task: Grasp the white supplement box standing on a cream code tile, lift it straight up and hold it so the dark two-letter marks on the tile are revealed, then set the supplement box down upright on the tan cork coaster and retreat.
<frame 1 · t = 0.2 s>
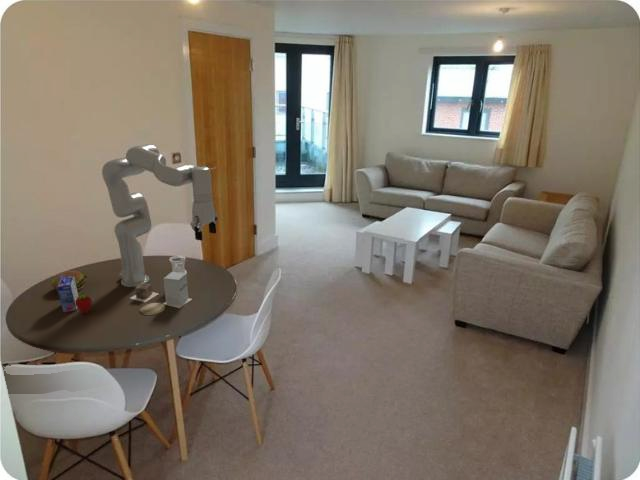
hand: (206, 236, 185), 30 cm above the table, fingers open, 9 cm apart
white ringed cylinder: (180, 285, 209), on the table
food: (70, 289, 204), on the table
walnut block: (144, 295, 198), resting on code tile b
code tile a: (177, 301, 194), on the table
ink cartridge box: (71, 306, 188), on the table
code tile b: (144, 296, 198), on the table
strawberry: (85, 314, 183), on the table
supplement box: (177, 301, 194), resting on code tile a
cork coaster: (152, 309, 187), on the table
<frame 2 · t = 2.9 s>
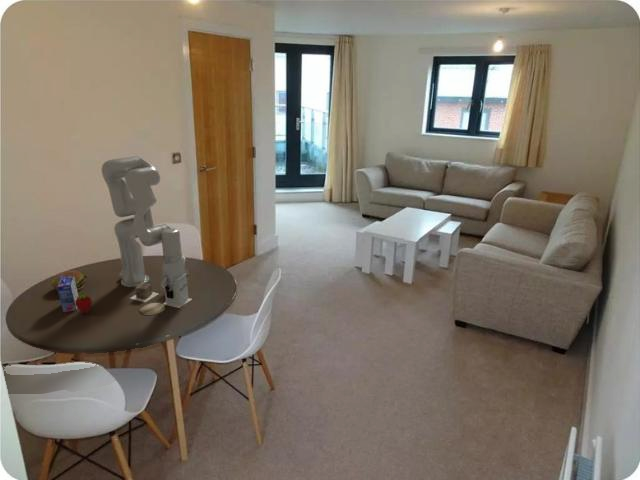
hand: (176, 293, 192), 4 cm above the table, fingers closed on supplement box, 8 cm apart
supplement box: (177, 301, 194), resting on code tile a, touching gripper
everything else where it was.
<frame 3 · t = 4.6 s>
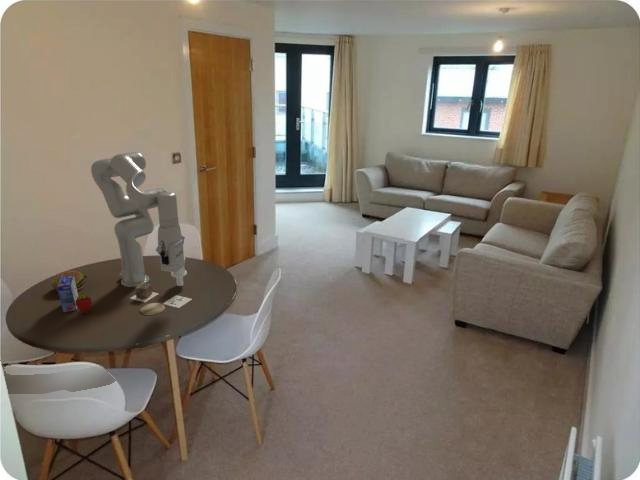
hand: (172, 260, 187), 20 cm above the table, fingers closed on supplement box, 8 cm apart
supplement box: (173, 268, 189), point 16 cm above the table, touching gripper
everything else where it was.
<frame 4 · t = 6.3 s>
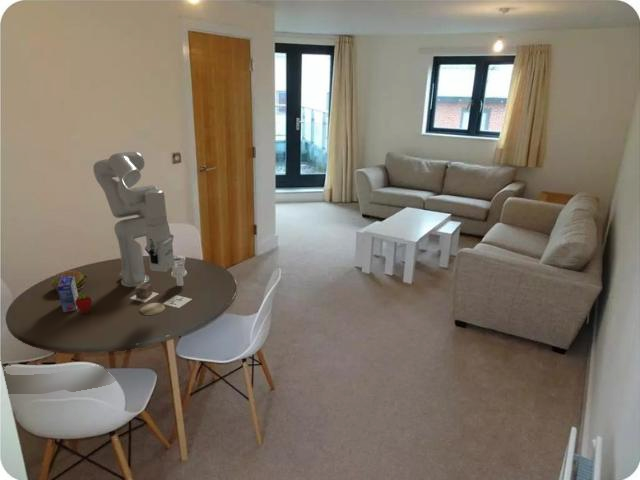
hand: (161, 259, 183), 22 cm above the table, fingers closed on supplement box, 8 cm apart
supplement box: (162, 268, 185), point 18 cm above the table, touching gripper
everything else where it was.
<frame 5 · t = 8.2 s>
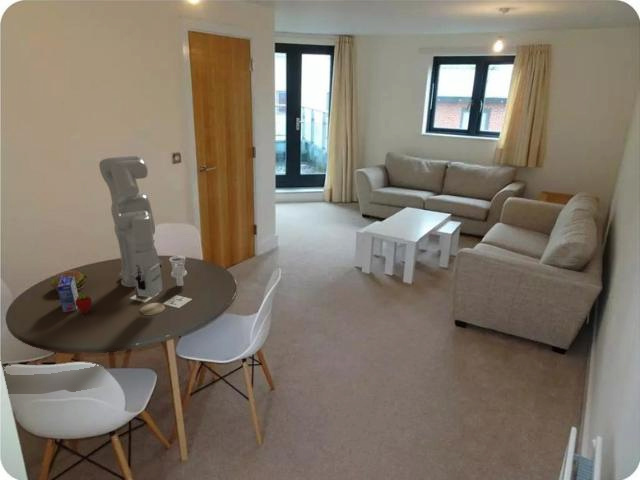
hand: (149, 284, 182), 12 cm above the table, fingers closed on supplement box, 8 cm apart
supplement box: (150, 293, 184), point 8 cm above the table, touching gripper
everything else where it was.
when the fingers open (6 cm above the table, at t = 9.8 s): supplement box drops 1 cm, resting on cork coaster.
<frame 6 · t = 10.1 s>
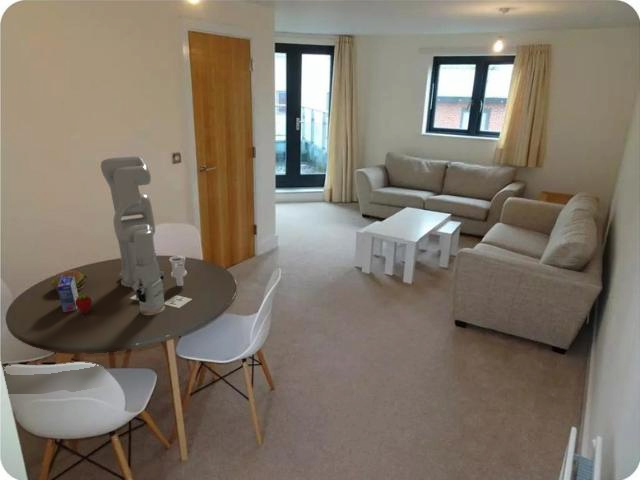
hand: (151, 296, 184), 6 cm above the table, fingers open, 9 cm apart
supplement box: (152, 308, 187), resting on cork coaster
everything else where it was.
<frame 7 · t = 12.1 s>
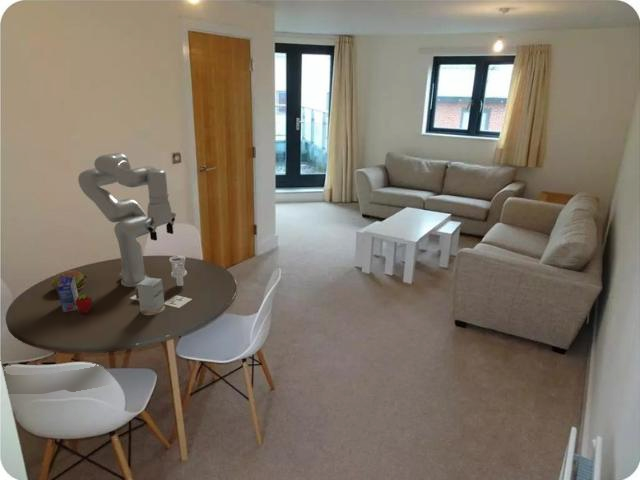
hand: (162, 236, 191), 28 cm above the table, fingers open, 9 cm apart
nothing on the table moved.
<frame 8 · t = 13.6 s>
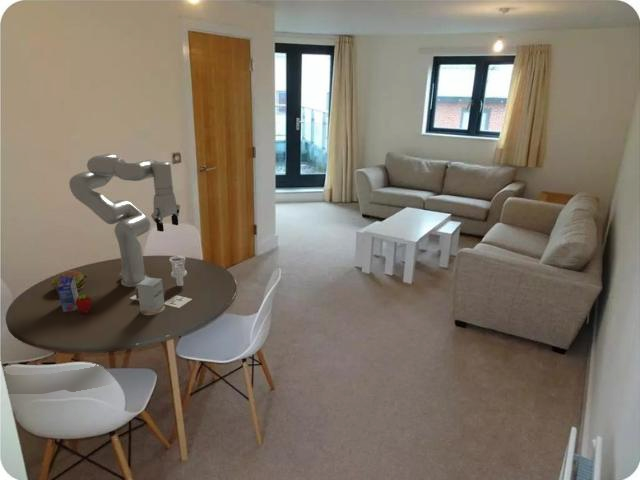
hand: (168, 227, 195), 30 cm above the table, fingers open, 9 cm apart
nothing on the table moved.
at the end: supplement box inside the target area on the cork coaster (0.4 cm from its centre), point 0.4 cm above the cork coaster's base; supplement box tilted 0°; supplement box moved 10.9 cm from its start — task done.
